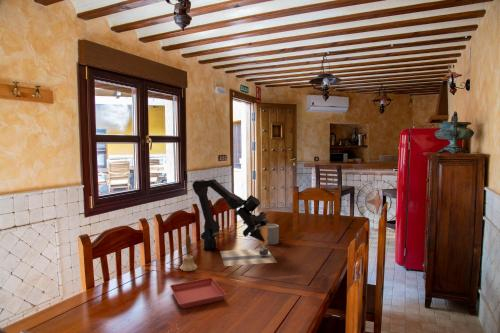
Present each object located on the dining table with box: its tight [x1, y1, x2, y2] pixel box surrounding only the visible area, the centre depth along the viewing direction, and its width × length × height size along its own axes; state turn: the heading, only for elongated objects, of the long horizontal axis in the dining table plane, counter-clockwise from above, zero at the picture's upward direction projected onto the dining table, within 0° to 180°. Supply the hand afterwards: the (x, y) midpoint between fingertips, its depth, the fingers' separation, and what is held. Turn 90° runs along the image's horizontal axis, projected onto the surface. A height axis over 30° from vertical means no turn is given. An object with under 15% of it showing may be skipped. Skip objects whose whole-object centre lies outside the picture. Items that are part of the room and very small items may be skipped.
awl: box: [258, 226, 269, 255], centre depth 180 cm, size 5×5×14 cm
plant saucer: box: [169, 277, 227, 309], centre depth 137 cm, size 18×18×3 cm
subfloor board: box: [219, 247, 278, 267], centre depth 181 cm, size 26×23×1 cm
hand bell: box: [179, 234, 198, 272], centre depth 167 cm, size 8×8×16 cm
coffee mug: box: [266, 223, 280, 246], centre depth 210 cm, size 13×10×10 cm
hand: (266, 240), depth 179 cm, fingers closed on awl, 4 cm apart
